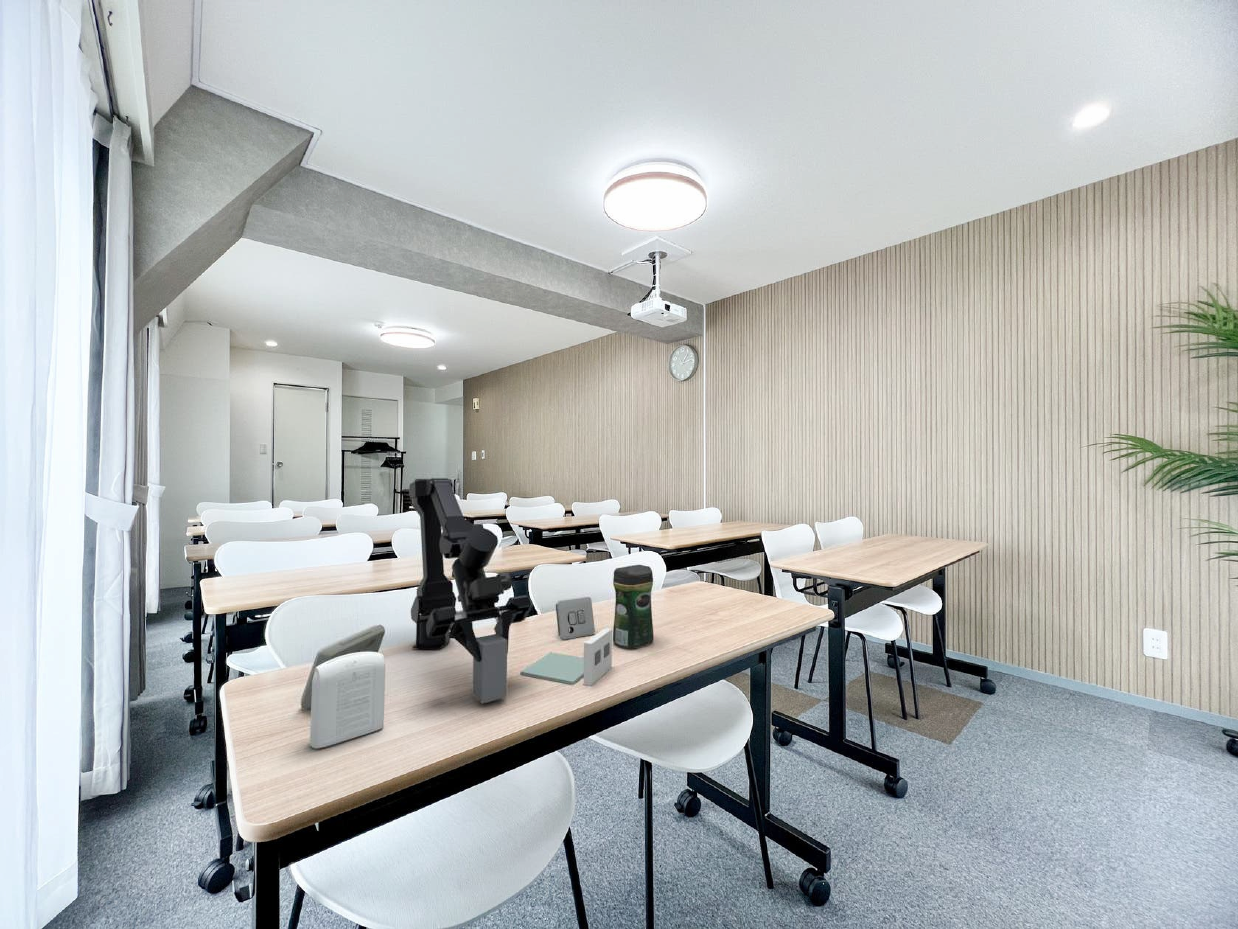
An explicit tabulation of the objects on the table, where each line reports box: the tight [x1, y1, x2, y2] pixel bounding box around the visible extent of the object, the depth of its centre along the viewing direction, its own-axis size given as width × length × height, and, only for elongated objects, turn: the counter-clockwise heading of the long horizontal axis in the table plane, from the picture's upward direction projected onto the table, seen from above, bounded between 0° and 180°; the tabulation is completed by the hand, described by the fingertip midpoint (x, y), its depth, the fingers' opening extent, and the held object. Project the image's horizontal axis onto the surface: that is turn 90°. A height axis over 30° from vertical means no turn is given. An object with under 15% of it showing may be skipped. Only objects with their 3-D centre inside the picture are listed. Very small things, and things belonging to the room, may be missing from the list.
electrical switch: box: [555, 596, 596, 641], centre depth 126 cm, size 9×5×9 cm, turn 121°
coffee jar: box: [612, 564, 654, 649], centre depth 120 cm, size 10×8×19 cm
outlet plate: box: [583, 627, 613, 687], centre depth 101 cm, size 2×10×8 cm, turn 157°
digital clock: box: [300, 624, 386, 710], centre depth 92 cm, size 16×9×11 cm, turn 157°
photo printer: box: [309, 651, 386, 750], centre depth 77 cm, size 10×4×12 cm, turn 134°
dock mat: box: [519, 651, 584, 686], centre depth 104 cm, size 12×12×1 cm
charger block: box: [472, 633, 508, 704], centre depth 89 cm, size 5×4×10 cm
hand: (493, 657), depth 88 cm, fingers closed on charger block, 4 cm apart
